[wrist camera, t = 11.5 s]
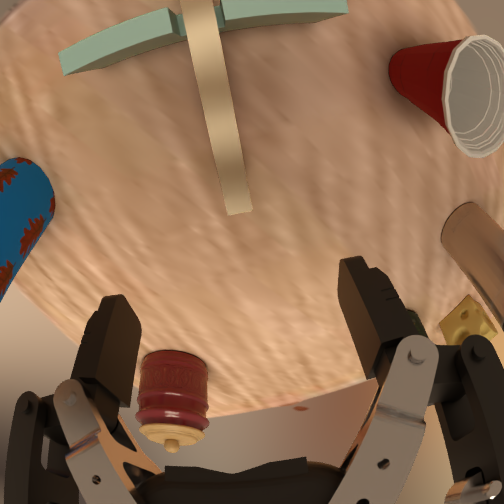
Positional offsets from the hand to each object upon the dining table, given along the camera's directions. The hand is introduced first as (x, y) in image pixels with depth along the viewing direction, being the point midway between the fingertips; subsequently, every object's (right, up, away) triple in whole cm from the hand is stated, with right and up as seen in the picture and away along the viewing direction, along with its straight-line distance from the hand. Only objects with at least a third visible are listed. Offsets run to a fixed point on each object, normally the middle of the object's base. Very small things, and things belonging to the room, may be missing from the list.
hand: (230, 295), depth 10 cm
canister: (-14, -20, +41) cm, 48 cm away
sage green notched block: (-3, +21, +9) cm, 23 cm away
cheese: (+49, -13, +43) cm, 67 cm away
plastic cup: (+18, +21, +13) cm, 30 cm away
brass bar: (-2, +17, +13) cm, 21 cm away
